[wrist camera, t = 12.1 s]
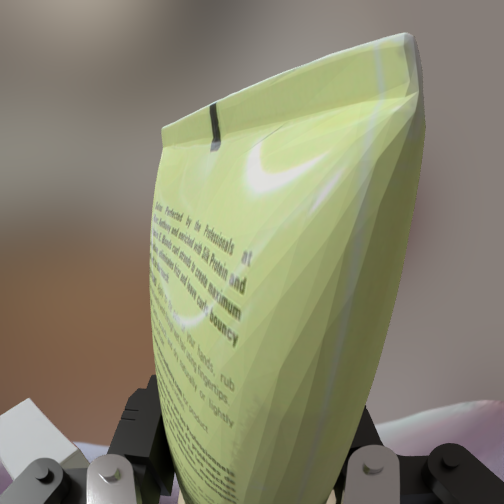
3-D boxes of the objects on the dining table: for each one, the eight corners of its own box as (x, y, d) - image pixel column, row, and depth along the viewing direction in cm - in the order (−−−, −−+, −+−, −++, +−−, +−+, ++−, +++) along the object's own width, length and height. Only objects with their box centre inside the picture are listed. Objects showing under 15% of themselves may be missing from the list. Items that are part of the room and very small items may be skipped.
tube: (324, 526, 12) (380, 108, 6) (299, 596, 7) (415, 12, 1) (230, 507, 14) (163, 127, 8) (195, 569, 9) (-5, 131, 3)
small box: (136, 517, 17) (82, 449, 13) (96, 553, 12) (20, 494, 9) (80, 470, 20) (29, 394, 17) (43, 498, 16) (-20, 425, 13)
